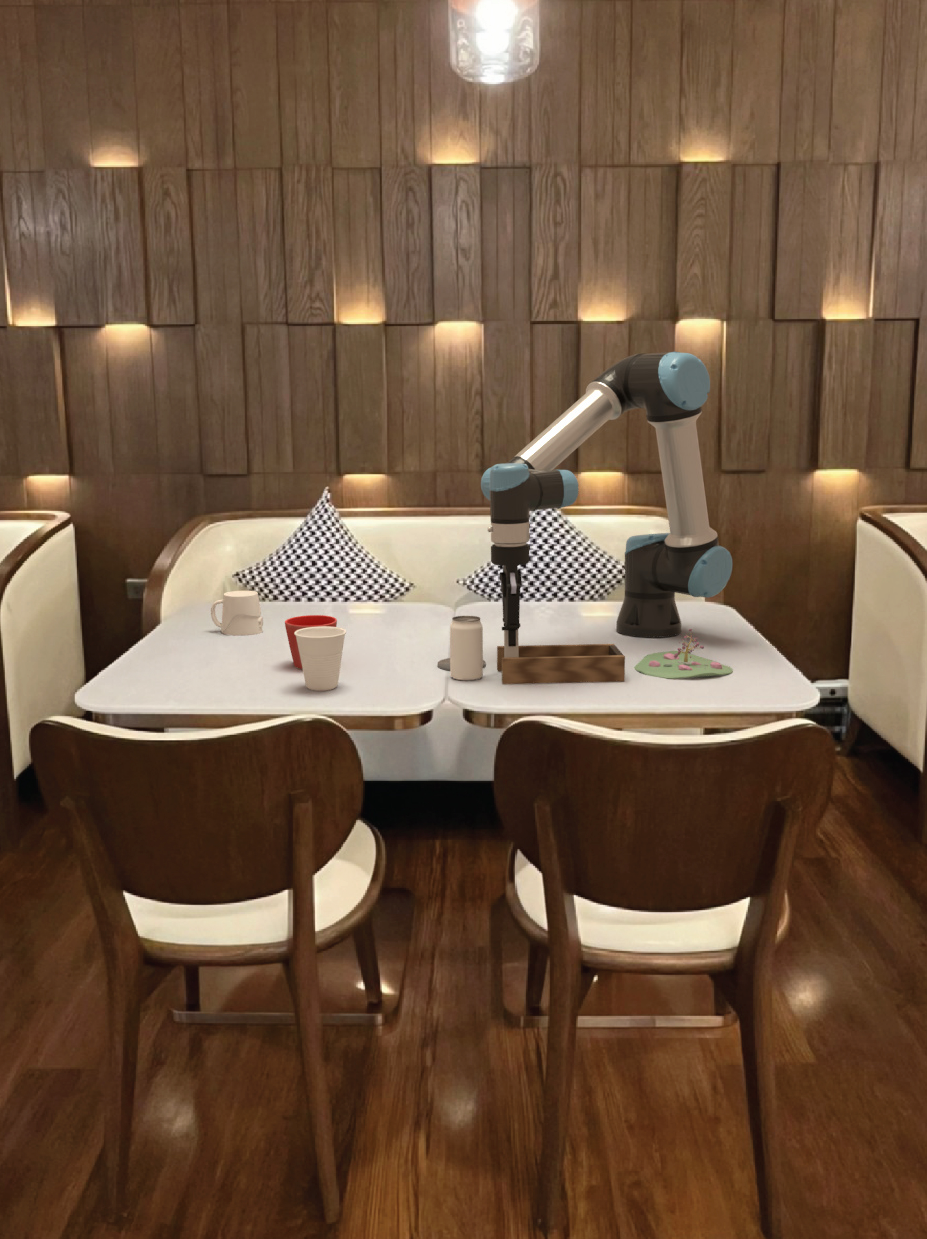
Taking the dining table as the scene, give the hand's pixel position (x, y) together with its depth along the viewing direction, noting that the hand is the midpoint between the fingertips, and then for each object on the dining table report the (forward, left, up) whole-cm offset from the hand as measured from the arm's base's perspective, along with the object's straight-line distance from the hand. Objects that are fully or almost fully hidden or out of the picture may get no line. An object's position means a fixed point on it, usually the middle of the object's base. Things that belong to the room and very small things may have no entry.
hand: (511, 660), depth 229 cm
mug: (+60, -48, -3) cm, 77 cm away
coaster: (+9, -10, -3) cm, 14 cm away
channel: (-10, 0, -3) cm, 10 cm away
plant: (-36, -7, -4) cm, 36 cm away
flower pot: (+40, -13, -3) cm, 43 cm away
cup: (+37, +5, -3) cm, 38 cm away
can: (+9, 0, -3) cm, 10 cm away
